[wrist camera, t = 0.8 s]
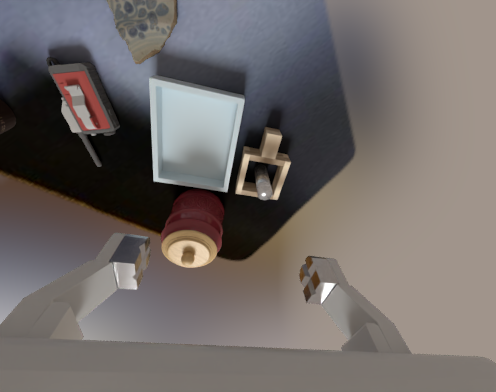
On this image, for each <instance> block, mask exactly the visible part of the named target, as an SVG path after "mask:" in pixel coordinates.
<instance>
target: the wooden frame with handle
mask: <svg viewBox="0 0 496 392" xmlns="http://www.w3.org/2000/svg"><path fill="white" fill-rule="evenodd" d="M281 139H282V135H281V133H280V131H279V130H278V129H273V128H268V127H265V130H264V134H263V137H262V141H261V145H260V149H256V148H251V147H245V146H244V148H243V153H242V158H241V162H240V167H239V172H238V176H237V181H236V194H242V195H248V196H255V197H258V194H257V187H256V183H250V182H244V179H245V175H246V171H247V166H248V162H249V160H252V161H257V162H263V163H268V164H274V165H278V168H277V171H276V174H275V177H274V180H273V183H272V186H271V188H272V192H273V195H272V197H271V198H270V199H274V200H277V199H278V196H279V194H280V191H281V188H282V186H283V183H284V180H285V177H286V175H287V172H288V169H289V166H290V164H291V161H290V159H289V157H288V155H287V154H282V153H277V152H278V148H279V145H280V142H281Z"/></svg>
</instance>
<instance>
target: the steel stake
mask: <svg viewBox="0 0 496 392" xmlns="http://www.w3.org/2000/svg"><path fill="white" fill-rule="evenodd" d="M254 173H255V180H256V187H257V194H258V197H259V198H260V199H261V200H268V199H270V198H271V197H272V195H273V192H272V188H271V184H270V180H269V176H268V172H267V168H266V166H265V165H263V164H259V165H257V166H256V167H255V168H254Z"/></svg>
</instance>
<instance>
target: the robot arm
mask: <svg viewBox="0 0 496 392" xmlns="http://www.w3.org/2000/svg"><path fill="white" fill-rule="evenodd" d="M149 244H150V238H149V237H144V236H137V235H130V234H122V233H114V234H113V235H112V236H111V238H110V239H109V240H108V242H107V243H106V245H105V246H104V247H103V249H102V250H101V252H100V253H99V255H98V256H97V258H96V259H95V260H94V261H92V260H91V261H89V262H87V263H85V264H84V265H81V266H80V267H78V268H76V269H74V270H73V271H71V272H69V273H67V274H66V275H64V276H62V277H60V278H59V279H57V280H55V281H53V282H51V283H50V284H48V285H46V286H44V287H43V288H41V289H39V290H37V291H35V292H34V293H32V294H30V295H28V296H27V297H25V298H23V299H22V301H21V302H20V303H19V304H18V305H17V306H16V307H15V309H14V310H13V311H12V312H11V313H10V314H9V315H8V316H7V318H6V319H5V320H4V321H3V322H2V323H1V324H0V392H496V363H495V362H493V361H492V360H490V359H487V358H484V357H478V356H453V355H452V356H451V355H430V354H429V355H428V354H412V353H411V352H410V350H409V348H408V347H407V345H406V343H405V341H404V340H403V338H402V337H401V335H400V333H399V331H398V330H397V328H396V326H395V325H394V323H393V322H391V321H390V320H389V319H388V318H387V317H386V316H385V315H384V314H383V313H381V312H380V311H379V310H378V309H377V308H376V307H375V306H374V305H373V304H371V303H370V302H369V301H368V300H367V299H366V298H365V297H364V296H363V295H361V294H360V293H359V292H358V291H357V290H356V289H355V288H354V287H352V286H349V284H348V282H347V280H346V278H345V276H344V274H343V272H342V270H341V268H340V266H339V264H338V262H337V260H336V259H332V258H324V257H314V256H308V257H307V258H306V259H305V262H306V264H304V265H302V267H301V269H300V273H299V277H300V282H301V284H302V285H303V286H304V287H305V288H304V290H303V293H304V296H305V300H306V303H312V304H320V305H322V307H323V308H324V309H325V311H326V312H327V313H328V315H329V316H330V317H331V318H332V320H333V321H334V322H335V324H336V325H337V326H338V328H339V329H340V330H341V331H342V333H343V334H344V335H345V337H346V338H347V339H348V341H347V342H346V343H345V344H344V345H343V346H342V348H341V349H342V351H334V350H333V351H332V350H308V349H285V348H263V347H262V348H261V347H239V346H216V345H192V344H167V343H143V342H120V341H119V342H118V341H96V340H82V339H83V334H82V331H81V329H80V327H79V325H78V323H79V322H80V321H81V320H82V319H83V318H84V317H86V316H87V315H88V314H89V313H90V312H91V311H93V310H94V309H95V308H96V307H97V306H99V305H100V304H101V303H102V302H103V301H104V300H106V298H108V297H109V296H110V295H111V294H112V293H114V292H115V291H116V290H117V288H119V289H138V287H139V284H140V282H141V280H142V277H143V270H145V269H146V268H147V265H148V263H149V259H150V253H151V249H150V248H149V247H148V246H149Z"/></svg>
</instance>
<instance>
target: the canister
mask: <svg viewBox="0 0 496 392" xmlns="http://www.w3.org/2000/svg"><path fill="white" fill-rule="evenodd" d="M223 218H224V208H223V204H222V202H221V200H220V199H219V198H218V197H217V196H216V195H215V194H213V193H212V192H210V191H207V190H203V189H191V190H187V191H185V192H183V193H182V194H180V195H179V197H178V198H177V199H176V200H175V202H174V204H173V207H172V211H171V214H170V216H169V218H168V219H167V221H166V225H165V228H164V229H163V231H162V234H161V242H162V251H163V253H164V255H165V256H166V258H167V259H169V260H170V261H171V262H173V263H175V264H177V265H179V266H182V267H189V268H192V267H199V266H204V265H206V264H208V263H210V262H211V261H213V260H214V258H215V257H216V255H217V253H218V251H219V250H220V248H221V245H222V238H221V237H222V233H223V229H222V225H223Z"/></svg>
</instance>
